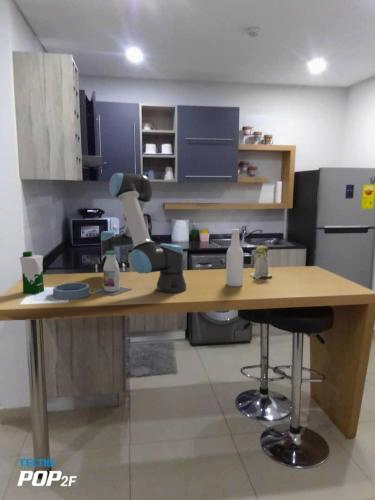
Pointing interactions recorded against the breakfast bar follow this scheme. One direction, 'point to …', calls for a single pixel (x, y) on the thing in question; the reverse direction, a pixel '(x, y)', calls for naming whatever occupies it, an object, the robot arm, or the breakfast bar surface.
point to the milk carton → (32, 273)
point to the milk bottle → (111, 273)
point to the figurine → (261, 263)
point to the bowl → (71, 291)
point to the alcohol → (234, 261)
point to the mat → (111, 292)
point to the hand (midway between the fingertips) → (110, 269)
